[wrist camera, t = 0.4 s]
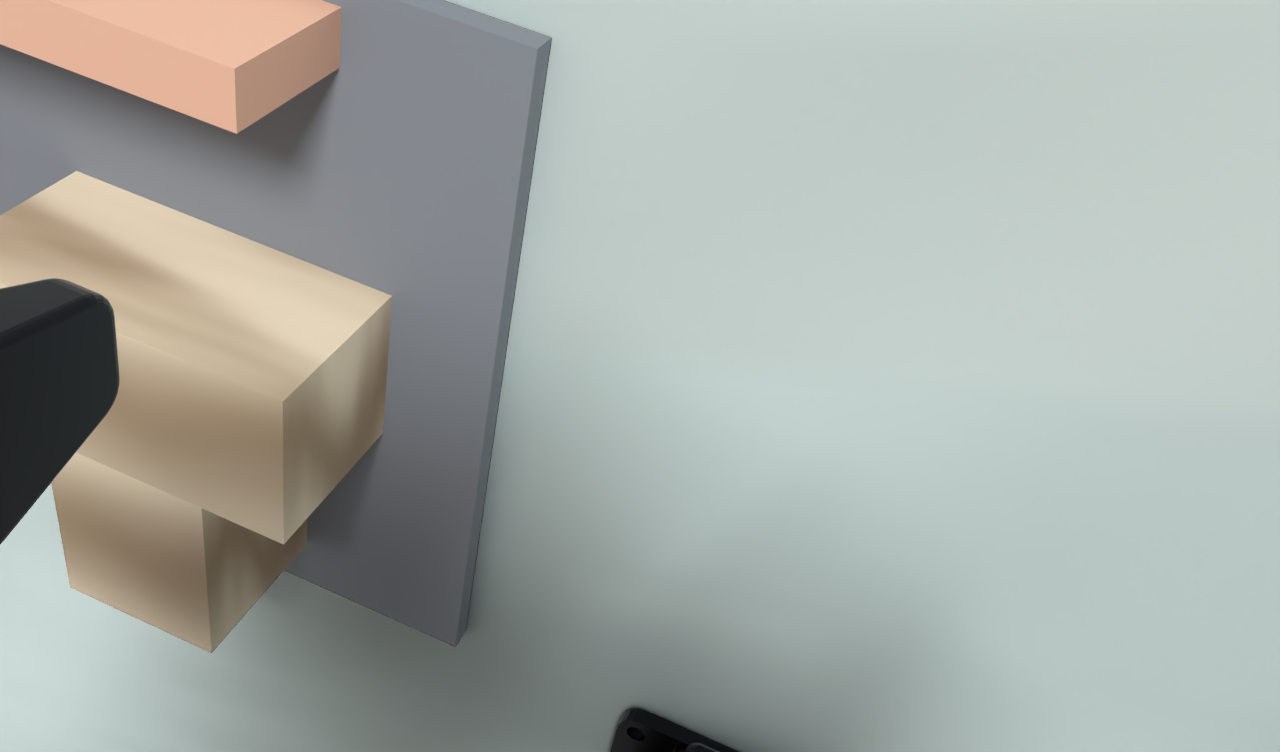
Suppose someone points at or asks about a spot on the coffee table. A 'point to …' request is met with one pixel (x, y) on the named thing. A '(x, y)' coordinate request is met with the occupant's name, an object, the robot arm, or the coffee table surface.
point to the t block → (201, 402)
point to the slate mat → (354, 251)
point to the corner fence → (185, 49)
